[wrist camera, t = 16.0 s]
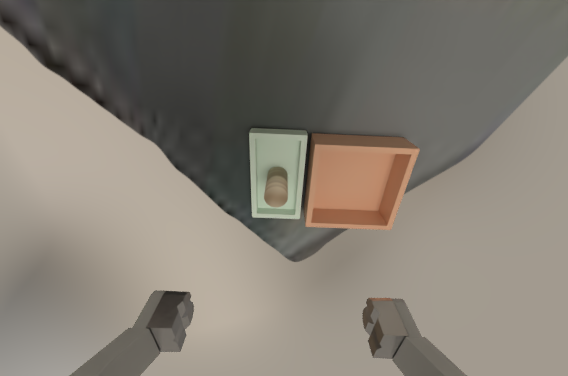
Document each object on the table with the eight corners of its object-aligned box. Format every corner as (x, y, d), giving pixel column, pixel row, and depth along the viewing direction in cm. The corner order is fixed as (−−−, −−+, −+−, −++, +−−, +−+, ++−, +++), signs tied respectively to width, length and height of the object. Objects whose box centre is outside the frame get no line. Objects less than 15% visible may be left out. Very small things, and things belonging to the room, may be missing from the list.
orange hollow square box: (311, 133, 42) (315, 144, 37) (403, 137, 42) (419, 149, 37) (303, 209, 51) (305, 226, 45) (380, 212, 51) (390, 230, 46)
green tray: (251, 127, 42) (249, 132, 39) (306, 130, 42) (307, 135, 39) (253, 208, 51) (252, 217, 48) (298, 210, 51) (299, 219, 48)
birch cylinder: (267, 166, 44) (263, 186, 38) (288, 167, 44) (288, 187, 38) (267, 184, 46) (264, 206, 40) (287, 184, 46) (287, 207, 40)
